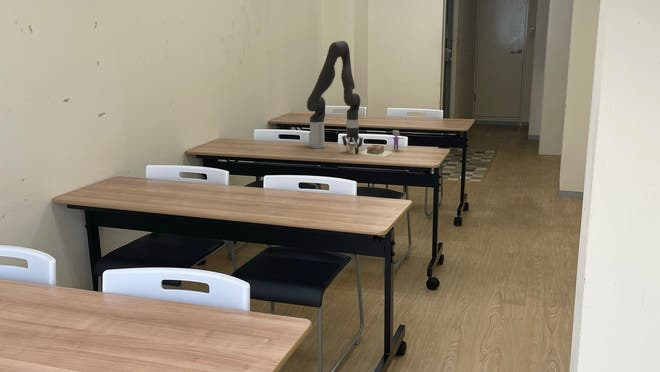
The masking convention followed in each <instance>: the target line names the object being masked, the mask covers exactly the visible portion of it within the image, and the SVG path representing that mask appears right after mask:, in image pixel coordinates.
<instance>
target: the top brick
mask: <svg viewBox="0 0 660 372" xmlns="http://www.w3.org/2000/svg"><path fill="white" fill-rule="evenodd" d="M355 148H356V147H355V145H354V143H350V145H347V147H346V153H347V154H353V155H355V154H356V153H355Z"/></svg>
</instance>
